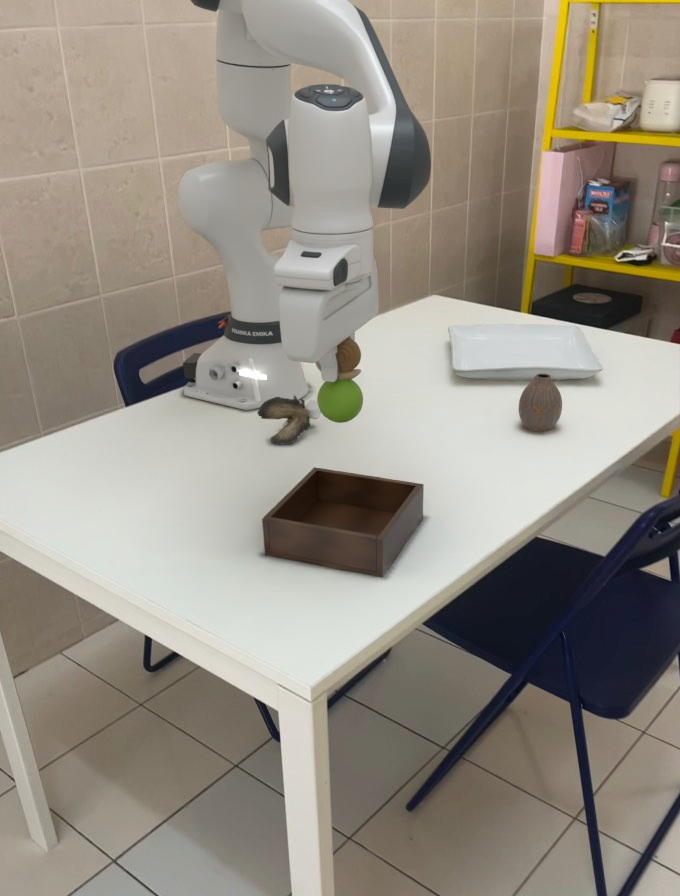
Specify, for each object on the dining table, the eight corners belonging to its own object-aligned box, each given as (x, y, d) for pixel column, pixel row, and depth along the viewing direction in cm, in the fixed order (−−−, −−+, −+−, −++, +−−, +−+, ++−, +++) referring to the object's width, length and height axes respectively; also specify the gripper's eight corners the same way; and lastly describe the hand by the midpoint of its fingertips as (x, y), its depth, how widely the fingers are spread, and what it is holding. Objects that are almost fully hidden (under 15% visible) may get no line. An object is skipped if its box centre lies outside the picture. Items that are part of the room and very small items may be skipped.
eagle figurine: (282, 412, 147) (248, 420, 139) (303, 381, 143) (269, 387, 135) (312, 444, 145) (278, 454, 138) (334, 414, 141) (300, 422, 134)
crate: (264, 554, 109) (261, 518, 106) (315, 500, 121) (314, 467, 119) (382, 577, 104) (382, 540, 101) (423, 518, 116) (423, 483, 114)
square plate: (446, 341, 184) (447, 323, 182) (578, 342, 183) (580, 323, 181) (451, 386, 160) (452, 365, 158) (602, 386, 159) (605, 366, 157)
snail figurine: (314, 411, 108) (311, 314, 102) (366, 414, 107) (365, 316, 101) (305, 427, 103) (302, 327, 97) (359, 430, 102) (359, 329, 97)
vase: (559, 436, 140) (565, 384, 135) (515, 433, 141) (519, 381, 136) (560, 420, 145) (565, 369, 141) (518, 417, 147) (522, 367, 142)
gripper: (342, 233, 105) (344, 346, 112) (265, 272, 88) (273, 402, 95) (392, 237, 103) (391, 351, 110) (323, 278, 86) (327, 409, 93)
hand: (336, 375), depth 102 cm, fingers closed on snail figurine
